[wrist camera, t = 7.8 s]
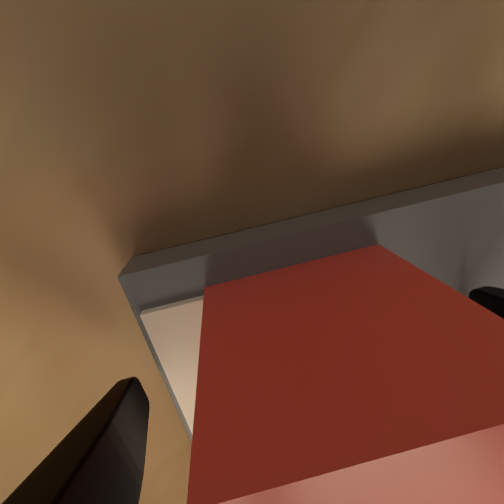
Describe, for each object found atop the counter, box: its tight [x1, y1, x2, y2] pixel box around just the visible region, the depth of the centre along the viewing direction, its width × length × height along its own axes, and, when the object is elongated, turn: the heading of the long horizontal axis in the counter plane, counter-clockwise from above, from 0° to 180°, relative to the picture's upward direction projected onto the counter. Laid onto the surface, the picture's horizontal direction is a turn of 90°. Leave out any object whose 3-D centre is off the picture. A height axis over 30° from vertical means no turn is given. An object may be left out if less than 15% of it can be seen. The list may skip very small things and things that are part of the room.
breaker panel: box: [118, 167, 504, 442], centre depth 10 cm, size 20×16×3 cm
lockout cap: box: [187, 244, 504, 504], centre depth 5 cm, size 4×4×4 cm
